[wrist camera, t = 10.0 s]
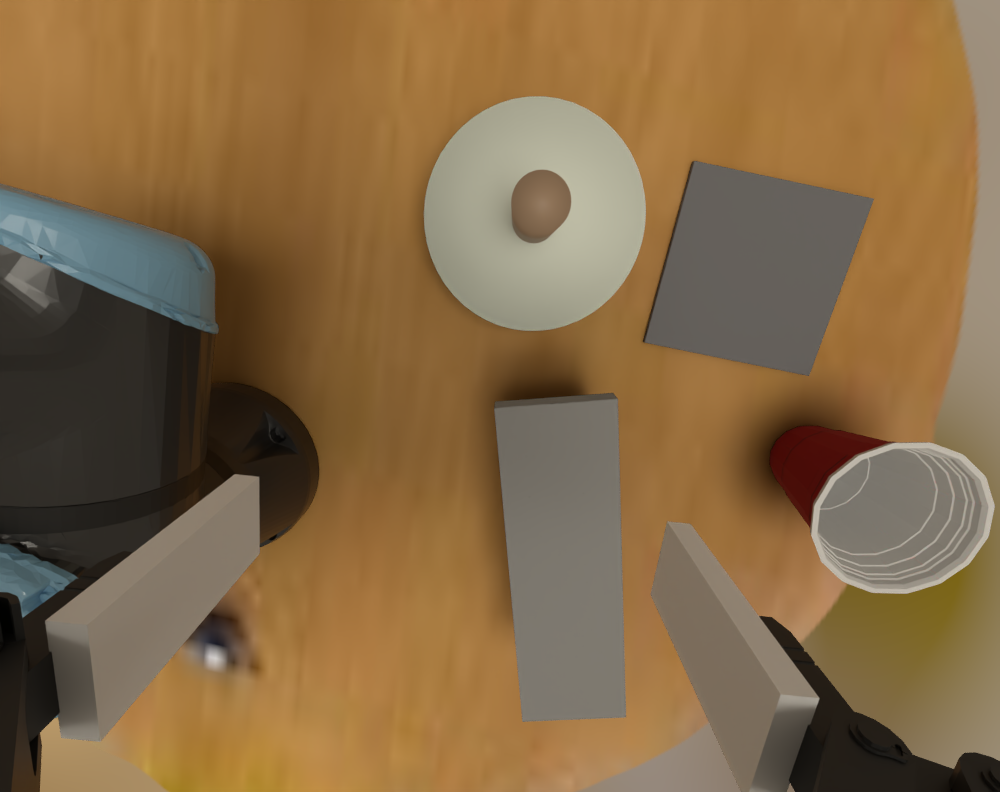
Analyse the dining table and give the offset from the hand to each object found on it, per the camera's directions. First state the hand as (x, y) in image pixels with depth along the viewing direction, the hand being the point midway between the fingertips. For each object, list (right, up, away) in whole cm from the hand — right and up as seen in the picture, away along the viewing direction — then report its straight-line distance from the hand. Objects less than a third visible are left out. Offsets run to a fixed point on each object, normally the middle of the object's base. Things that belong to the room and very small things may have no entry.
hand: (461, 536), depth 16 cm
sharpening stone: (+6, -5, +29) cm, 30 cm away
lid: (+4, +17, +18) cm, 25 cm away
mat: (+21, +14, +23) cm, 35 cm away
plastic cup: (+27, -1, +27) cm, 39 cm away
